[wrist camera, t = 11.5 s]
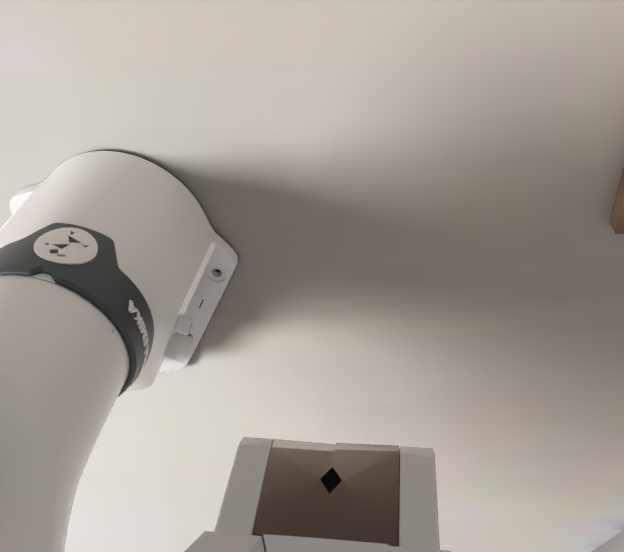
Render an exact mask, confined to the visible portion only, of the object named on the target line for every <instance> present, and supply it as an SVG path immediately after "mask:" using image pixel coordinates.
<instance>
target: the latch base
mask: <svg viewBox="0 0 624 552" xmlns="http://www.w3.org/2000/svg"><path fill="white" fill-rule="evenodd" d="M610 224H611V226H612V228H613V230H614V231H615V233H616V234H624V170H623V174H622V178H621V182H620V186H619V189H618V193H617V197H616V201H615V205H614V209H613V213H612V217H611V221H610Z"/></svg>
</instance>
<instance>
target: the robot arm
mask: <svg viewBox="0 0 624 552" xmlns="http://www.w3.org/2000/svg"><path fill="white" fill-rule="evenodd" d="M9 206H10V211H11V214H12V216H11V217H10V218H9V219H8V221H7V222H6V223H5V224H4V225H3V227H2V228H1V229H0V552H64V550H65V542H66V536H67V530H68V524H69V518H70V514H71V509H72V505H73V501H74V497H75V493H76V490H77V486H78V483H79V480H80V477H81V475H82V472H83V469H84V467H85V465H86V463H87V460H88V458H89V456H90V454H91V451H92V449H93V447H94V445H95V443H96V440H97V438H98V436H99V434H100V432H101V430H102V428H103V425H104V423H105V421H106V419H107V417H108V415H109V413H110V411H111V409H112V407H113V405H114V403H115V401H116V399H117V397H119V396H120V395H121V394H122V393H123V392H125V391H133V390H141V389H145V388H147V387H149V386H151V385H152V384H153V382H154V380H155V378H156V376H157V374H158V373H163V372H175V371H180V370H183V369H184V368H185V367H186V366H187V364H188V362H189V361H190V359H191V357H192V355H193V353H194V351H195V349H196V347H197V345H198V343H199V341H200V339H201V337H202V335H203V333H204V331H205V329H206V327H207V325H208V323H209V321H210V319H211V317H212V315H213V313H214V311H215V309H216V307H217V305H218V303H219V301H220V299H221V297H222V295H223V293H224V290H225V288H226V286H227V284H228V282H229V280H230V278H231V276H232V274H233V272H234V270H235V268H236V266H237V264H238V257H237V254H236V253H235V251H234V250H233V249H232V248H231V247H230V246H229V245H228V244H227V243H226V242H225V241H224V240H223V239H222V238H221V237H220V236H219V235H218V234H216V233H215V231H214V230H213V228H212V227H211V225H210V223H209V221H208V219H207V217H206V215H205V213H204V211H203V209H202V208H201V206H200V204H199V203H198V201H197V200H196V199H195V197H194V196H193V195H192V193H191V192H190V191H189V190H188V189H187V188H186V187H185V186H184V185H183V184H182V183H181V182H180V181H179V180H178V179H176V178H175V177H174V176H173V175H171V174H170V173H169V172H167V171H166V170H164V169H163V168H161V167H159V166H157V165H156V164H154V163H152V162H150V161H147V160H145V159H143V158H140V157H137V156H134V155H130V154H126V153H121V152H115V151H93V152H87V153H83V154H80V155H77V156H74V157H72V158H70V159H68V160H66V161H65V162H63V163H62V164H60V165H59V166H58V167H57V168H56V169H55V170H54V171H53V172H52V173H51V174H50V175H49V177H48V178H47V179H45V180H44V181H43V182H42V183H40V184H36V185H33V186H29V187H26V188H24V189H21V190H19V191H18V192H17V193H16V194H15V195H14V196H13V198H12V199H11V200H10V204H9ZM214 269H219V270H220V271H221V272H217V271H215V270H214ZM184 552H450V551H445V550H440V545H439V526H438V507H437V488H436V470H435V454H434V451H433V449H432V448H418V447H400V449H399V446H394V445H371V444H347V443H336V444H326V443H314V442H302V441H290V440H278V439H264V438H249V437H243V439H242V441H241V442H240V444H239V446H238V449H237V452H236V456H235V459H234V463H233V467H232V470H231V474H230V477H229V481H228V485H227V488H226V492H225V495H224V499H223V502H222V506H221V510H220V513H219V517H218V520H217V524H216V528H215V531H214V532H209V531H205V532H204V533H203V534H202V535H201V536H200V537H199V538H198V539H197V540H196V541H195V542H194V543H193V544H192V545H191V546H190V547H189V548H188V549H186V550H185V551H184Z"/></svg>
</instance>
